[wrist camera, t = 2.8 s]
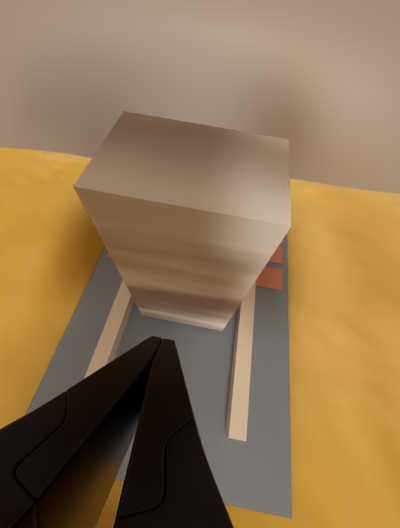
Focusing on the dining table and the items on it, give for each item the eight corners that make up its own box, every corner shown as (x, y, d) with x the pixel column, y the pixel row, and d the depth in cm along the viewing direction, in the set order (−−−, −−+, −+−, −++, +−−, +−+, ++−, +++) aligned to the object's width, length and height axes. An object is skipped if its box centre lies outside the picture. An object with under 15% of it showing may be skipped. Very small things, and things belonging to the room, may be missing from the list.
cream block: (222, 331, 16) (290, 226, 6) (142, 315, 17) (73, 186, 6) (228, 282, 18) (288, 139, 8) (156, 268, 19) (123, 111, 8)
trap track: (289, 516, 12) (318, 549, 10) (9, 454, 13) (-35, 469, 10) (285, 205, 24) (297, 182, 21) (138, 179, 24) (133, 154, 22)
